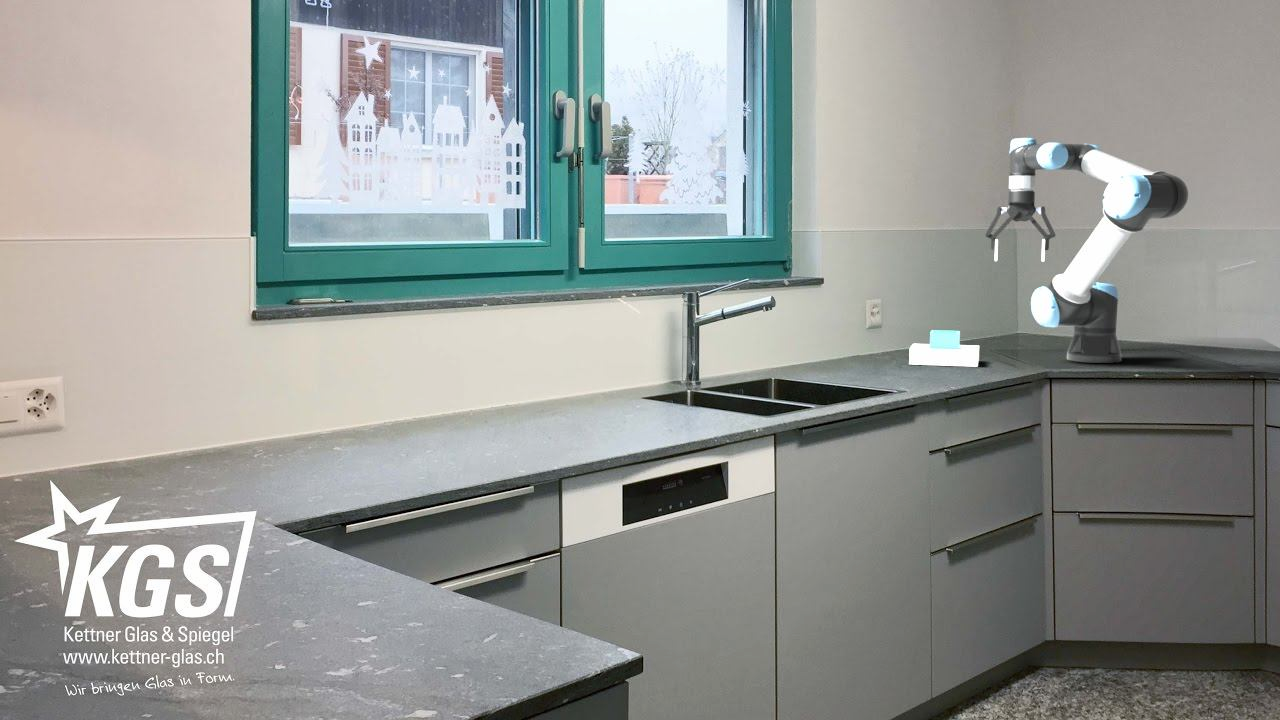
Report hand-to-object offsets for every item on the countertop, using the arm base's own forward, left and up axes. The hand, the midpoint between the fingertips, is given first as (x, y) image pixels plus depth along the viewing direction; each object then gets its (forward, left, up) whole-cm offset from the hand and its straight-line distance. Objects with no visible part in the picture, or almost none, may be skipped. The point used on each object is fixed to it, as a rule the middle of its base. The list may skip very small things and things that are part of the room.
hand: (1019, 261), depth 366 cm
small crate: (+20, +25, -28) cm, 42 cm away
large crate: (+20, +25, -29) cm, 43 cm away
